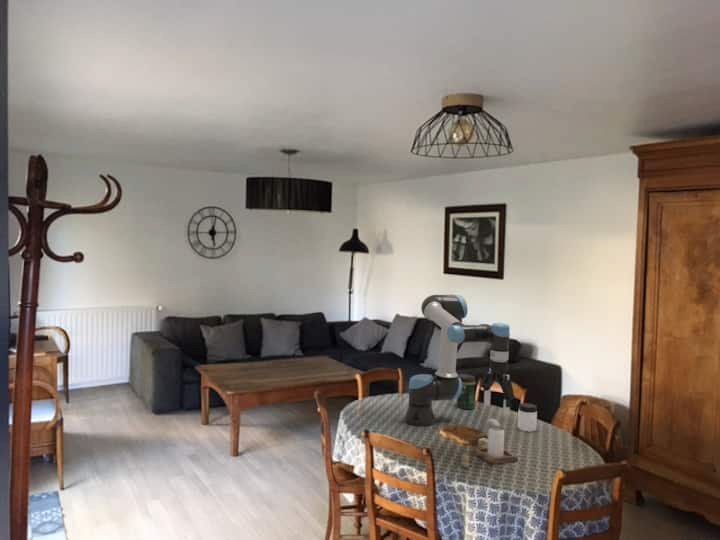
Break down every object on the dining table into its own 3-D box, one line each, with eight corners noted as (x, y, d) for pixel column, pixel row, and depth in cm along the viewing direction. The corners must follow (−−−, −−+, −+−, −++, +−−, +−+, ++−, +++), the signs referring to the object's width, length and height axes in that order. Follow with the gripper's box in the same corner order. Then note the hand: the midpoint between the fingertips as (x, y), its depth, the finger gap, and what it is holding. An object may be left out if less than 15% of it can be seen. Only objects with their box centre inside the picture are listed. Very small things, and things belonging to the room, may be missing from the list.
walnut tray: (473, 453, 242) (473, 449, 242) (498, 450, 247) (498, 446, 247) (491, 464, 230) (491, 459, 230) (517, 461, 235) (517, 456, 235)
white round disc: (502, 443, 256) (503, 421, 256) (496, 444, 255) (497, 422, 254) (488, 436, 265) (489, 415, 265) (482, 437, 264) (483, 416, 263)
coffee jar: (477, 408, 313) (478, 375, 312) (466, 410, 308) (468, 377, 308) (464, 404, 321) (465, 372, 320) (454, 406, 316) (455, 373, 315)
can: (485, 453, 241) (486, 425, 241) (500, 453, 242) (501, 425, 241) (490, 458, 235) (491, 430, 234) (505, 458, 235) (506, 430, 235)
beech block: (478, 448, 249) (478, 439, 249) (483, 446, 252) (483, 437, 251) (485, 451, 246) (486, 441, 246) (491, 449, 249) (491, 440, 248)
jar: (527, 433, 273) (528, 408, 272) (514, 428, 280) (515, 404, 279) (539, 430, 278) (540, 406, 277) (526, 425, 285) (527, 402, 284)
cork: (459, 465, 228) (459, 454, 228) (466, 464, 229) (466, 453, 229) (463, 468, 225) (464, 457, 225) (470, 467, 226) (471, 456, 226)
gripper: (474, 354, 249) (472, 402, 250) (510, 367, 226) (507, 419, 227) (488, 354, 252) (486, 401, 253) (525, 366, 229) (522, 417, 230)
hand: (496, 409), depth 240 cm, fingers open, 13 cm apart
